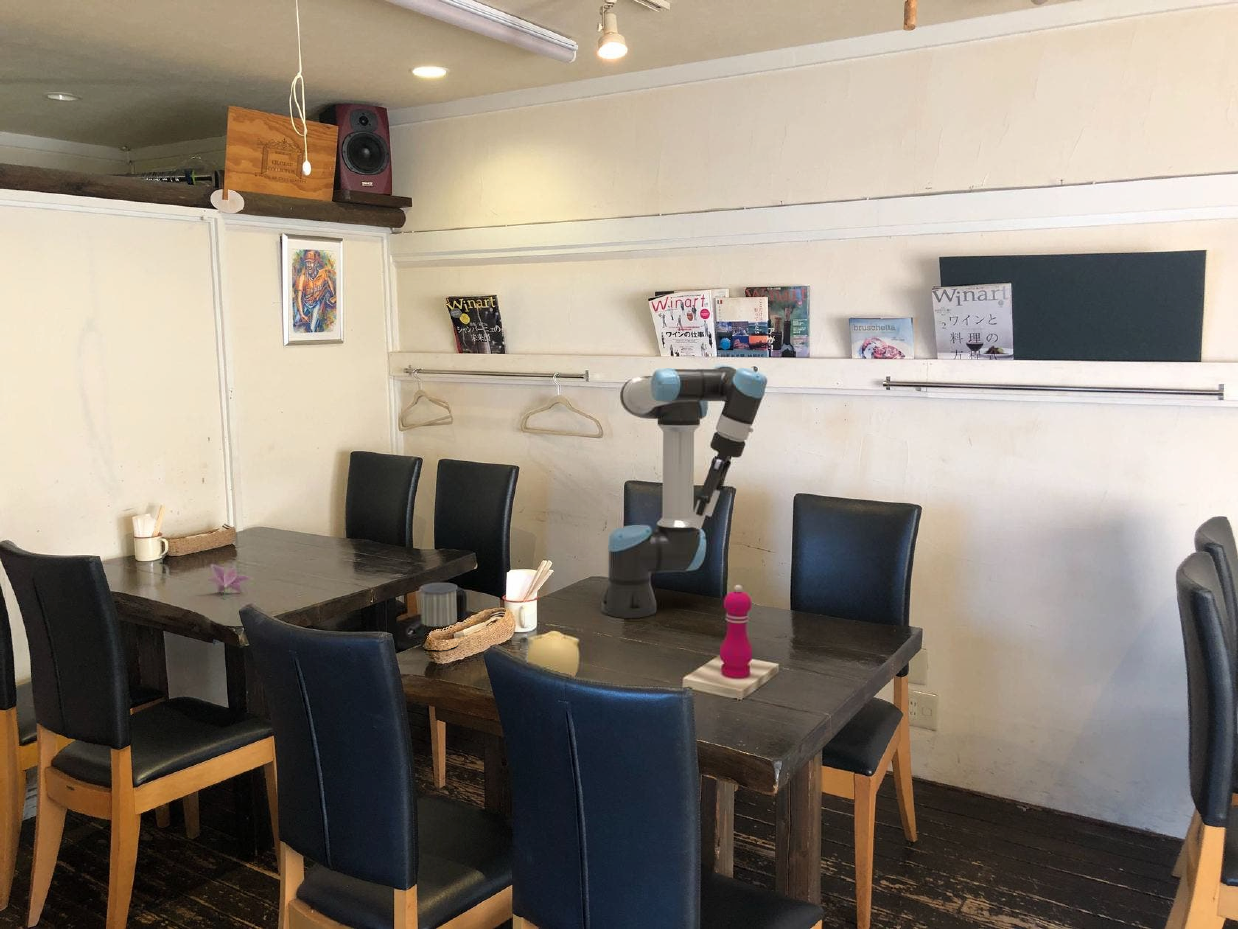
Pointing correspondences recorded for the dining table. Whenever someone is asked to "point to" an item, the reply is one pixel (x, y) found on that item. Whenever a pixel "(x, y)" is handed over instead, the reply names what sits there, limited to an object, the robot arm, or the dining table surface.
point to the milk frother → (439, 609)
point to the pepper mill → (736, 636)
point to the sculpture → (554, 652)
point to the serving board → (718, 684)
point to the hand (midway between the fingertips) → (700, 520)
